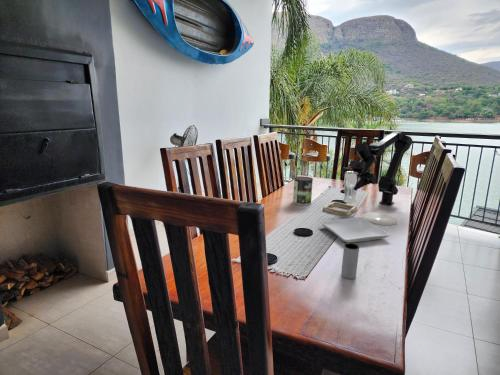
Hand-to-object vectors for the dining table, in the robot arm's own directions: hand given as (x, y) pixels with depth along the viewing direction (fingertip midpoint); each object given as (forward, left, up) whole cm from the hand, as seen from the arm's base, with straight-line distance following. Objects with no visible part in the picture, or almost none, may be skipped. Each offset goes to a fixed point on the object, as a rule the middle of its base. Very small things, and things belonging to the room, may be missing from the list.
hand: (349, 188), depth 156 cm
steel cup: (-1, 0, -7) cm, 7 cm away
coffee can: (-1, -27, -13) cm, 30 cm away
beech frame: (-2, -5, -13) cm, 14 cm away
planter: (+59, +24, -13) cm, 65 cm away
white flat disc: (-2, +15, -13) cm, 20 cm away
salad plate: (+24, +12, -14) cm, 30 cm away
